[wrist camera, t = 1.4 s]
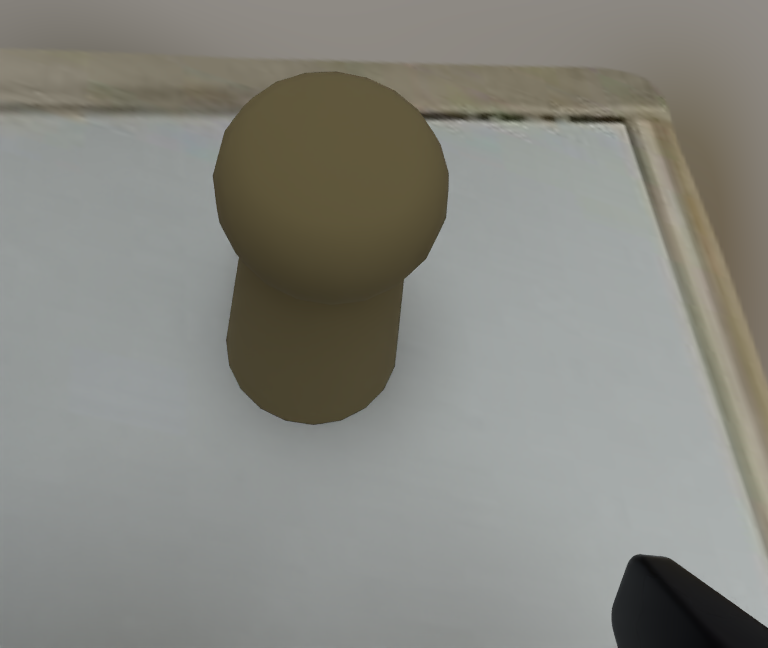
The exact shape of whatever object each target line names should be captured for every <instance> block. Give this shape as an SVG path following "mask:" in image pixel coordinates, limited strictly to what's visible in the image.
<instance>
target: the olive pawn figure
mask: <svg viewBox="0 0 768 648" xmlns="http://www.w3.org/2000/svg"><path fill="white" fill-rule="evenodd" d="M213 181H214V189H215V197H216V205H217V212H218V217H219V222H220V224H221V226H222V228H223V230H224V232H225V234H226V236H227V238H228V239H229V241H230V243H231V245H232V247H233V249H234V251H235V253H236V254H237V255H238V257H239V260H238V267H237V273H236V280H235V286H234V293H233V299H232V306H231V312H230V319H229V325H228V332H227V339H226V342H227V350H228V359H229V366H230V368H231V370H232V372H233V374H234V376H235V378H236V380H237V382H238V384H239V386H240V388H241V389H242V390H243V391H244V392H245V393H246V394H247V395H248V396H249V397H250V398H251V399H252V400H253V401H254V402H255V403H256V404H257V405H258V406H259V407H260V408H261V409H263V410H265V411H267V412H269V413H271V414H273V415H276V416H278V417H280V418H282V419H284V420H286V421H293V422H299V423H306V424H313V425H314V424H320V423H327V422H333V421H339V420H343V419H344V418H346V417H348V416H350V415H352V414H354V413H356V412H358V411H360V410H362V409H364V408H366V407H367V406H368V405H369V404H370V403H371V402H372V401H373V400H374V399H375V398H376V397H377V396H378V395H379V394H380V393H381V392H382V391H383V390H384V388H385V386H386V383H387V381H388V379H389V377H390V375H391V373H392V371H393V369H394V367H395V358H396V349H397V340H398V331H399V321H400V312H401V302H402V292H403V283H404V279H405V278H406V277H407V276H408V275H409V274H410V273H411V272H412V271H413V270H414V269H416V268H417V267H418V266H419V265H420V264H421V263H422V262H423V261H424V260H425V259H426V258H427V256H428V254H429V252H430V250H431V248H432V246H433V244H434V242H435V240H436V238H437V236H438V234H439V232H440V230H441V227H442V225H443V223H444V221H445V219H446V211H447V199H448V181H449V173H448V169H447V166H446V162H445V159H444V155H443V152H442V148H441V145H440V143H439V141H438V139H437V138H436V136H435V134H434V133H433V131H432V130H431V128H430V127H429V125H428V124H427V122H426V121H425V119H424V118H423V117H422V115H421V114H420V112H419V111H418V109H416V108H415V107H414V106H413V105H412V104H410V103H409V102H408V101H407V100H405V99H404V98H403V97H402V96H401V95H399V94H398V93H397V92H396V91H394V90H392V89H390V88H388V87H386V86H383V85H381V84H379V83H377V82H375V81H373V80H371V79H368V78H365V77H360V76H355V75H350V74H345V73H340V72H318V73H304V74H300V75H297V76H294V77H291V78H288V79H284V80H281V81H278V82H276V83H274V84H273V85H271V86H270V87H268V88H267V89H265V90H264V91H262V92H261V93H259V94H258V95H256V96H255V97H253V98H252V99H251V100H250V101H249V102H248V103H247V104H246V105H244V106H243V108H242V109H241V110H240V112H239V113H238V114H237V116H236V117H235V118H234V120H233V121H232V122H231V124H230V125H229V126H228V128H227V129H226V130H225V132H224V136H223V140H222V143H221V147H220V151H219V154H218V158H217V162H216V166H215V170H214V173H213Z"/></svg>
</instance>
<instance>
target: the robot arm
mask: <svg viewBox="0 0 768 648" xmlns="http://www.w3.org/2000/svg"><path fill="white" fill-rule="evenodd" d="M612 627H613V631H614V635H615V639H616V643H617V646H618V648H768V628H767V627H766V626H764V625H763V624H761V623H760V622H759V621H757V620H756V619H754V618H753V617H752V616H750V615H749V614H747V613H746V612H745V611H743V610H742V609H740V608H739V607H738V606H736V605H735V604H733V603H732V602H731V601H729V600H728V599H726V598H725V597H724V596H722V595H721V594H719V593H718V592H716V591H715V590H714V589H712V588H711V587H709V586H708V585H707V584H705V583H704V582H702V581H701V580H700V579H698V578H697V577H695V576H694V575H693V574H691V573H690V572H688V571H687V570H686V569H684V568H683V567H681V566H680V565H679V564H677V563H676V562H674V561H673V560H671V559H670V558H667V557H663V556H653V555H642V554H638V555H635V556H633V557H632V558H631V559H630V560H629V562H628V564H627V567H626V570H625V573H624V575H623V578H622V581H621V584H620V587H619V589H618V592H617V595H616V598H615V600H614V603H613V607H612Z"/></svg>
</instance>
